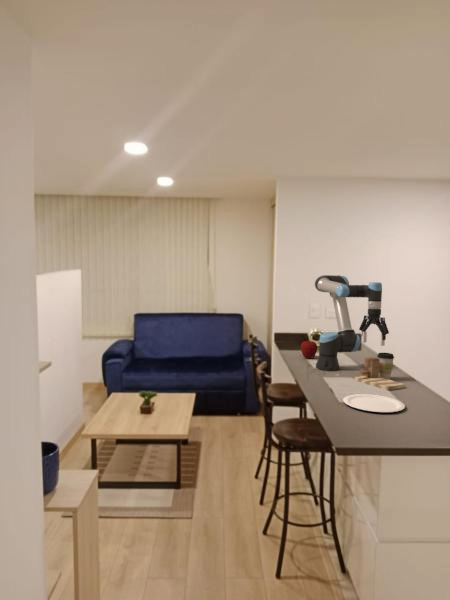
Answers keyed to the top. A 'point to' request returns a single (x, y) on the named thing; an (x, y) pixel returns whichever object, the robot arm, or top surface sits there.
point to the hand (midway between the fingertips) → (373, 344)
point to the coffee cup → (385, 364)
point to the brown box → (371, 367)
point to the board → (379, 382)
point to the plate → (374, 403)
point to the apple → (308, 349)
